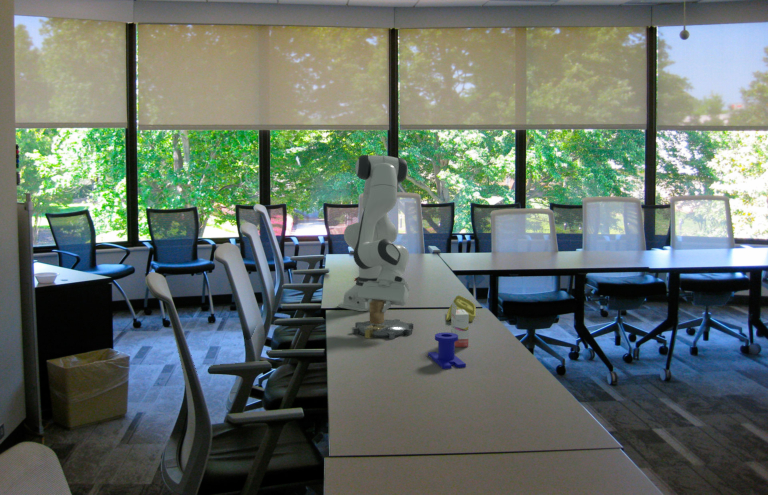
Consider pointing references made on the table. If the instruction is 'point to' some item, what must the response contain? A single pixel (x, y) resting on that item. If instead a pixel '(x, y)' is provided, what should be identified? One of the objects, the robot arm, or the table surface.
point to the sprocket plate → (383, 329)
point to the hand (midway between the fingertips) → (376, 311)
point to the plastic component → (463, 307)
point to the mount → (446, 351)
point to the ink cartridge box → (460, 326)
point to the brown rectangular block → (376, 312)
